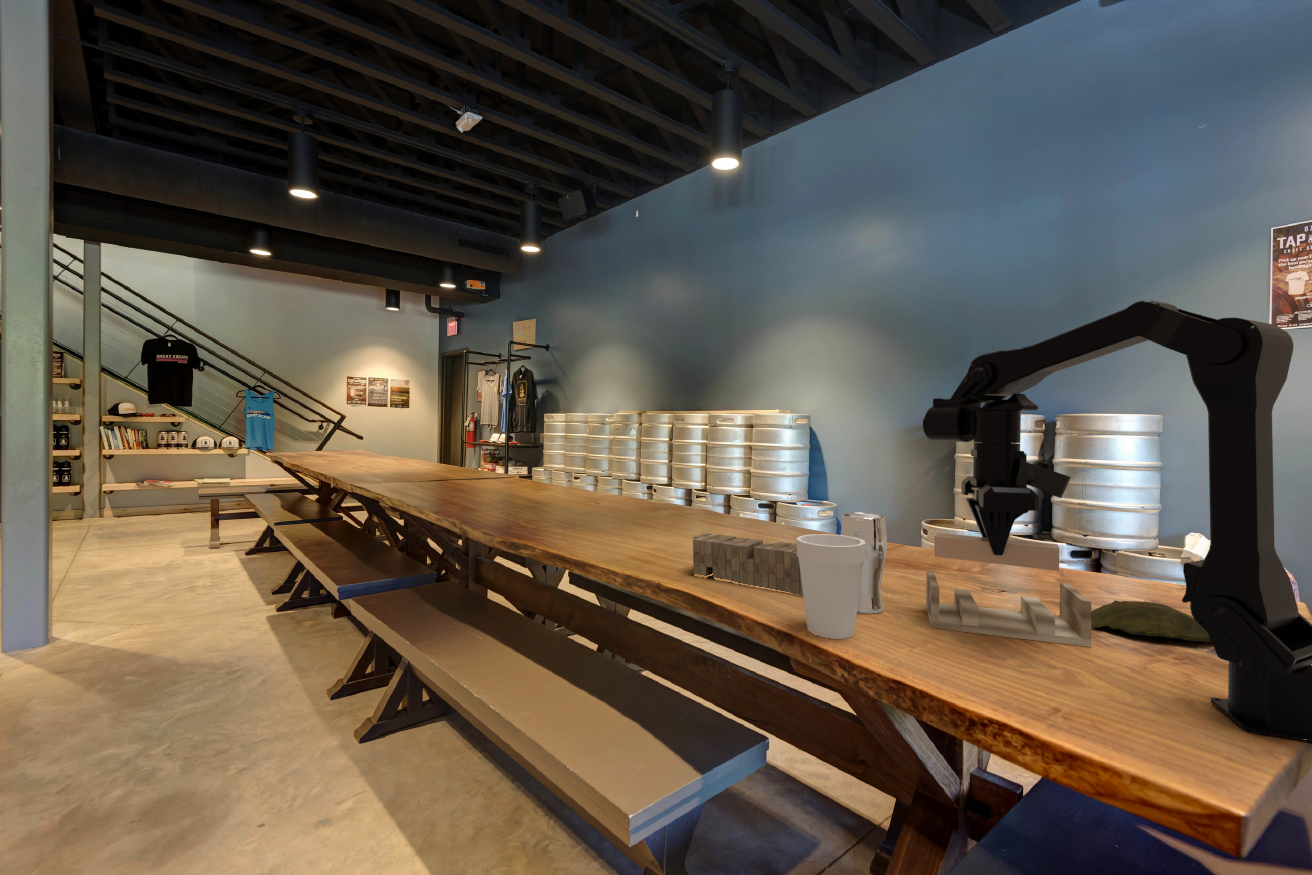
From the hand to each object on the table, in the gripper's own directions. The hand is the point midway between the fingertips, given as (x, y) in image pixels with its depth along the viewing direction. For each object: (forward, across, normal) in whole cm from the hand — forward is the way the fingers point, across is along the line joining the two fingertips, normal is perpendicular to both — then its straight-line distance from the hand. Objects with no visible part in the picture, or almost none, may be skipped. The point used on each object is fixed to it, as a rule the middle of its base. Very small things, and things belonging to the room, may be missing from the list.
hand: (994, 551), depth 80 cm
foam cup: (+12, -9, +22) cm, 26 cm away
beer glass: (+12, +4, +18) cm, 21 cm away
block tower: (+12, +13, +35) cm, 40 cm away
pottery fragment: (+12, +9, -21) cm, 25 cm away
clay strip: (+1, 0, 0) cm, 1 cm away
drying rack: (+11, +2, -1) cm, 12 cm away
